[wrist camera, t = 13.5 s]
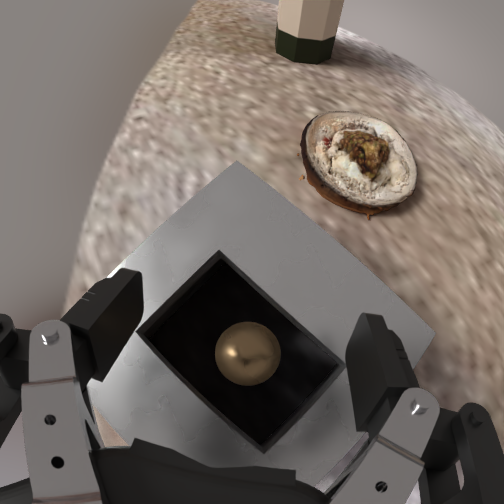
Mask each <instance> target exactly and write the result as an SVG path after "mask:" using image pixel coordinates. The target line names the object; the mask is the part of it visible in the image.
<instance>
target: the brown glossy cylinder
mask: <svg viewBox="0 0 504 504" xmlns="http://www.w3.org/2000/svg"><path fill="white" fill-rule="evenodd" d="M280 357H281V351H280V345H279V342H278V340H277V338H276V337H275V335H274V334H273V333H272V332H271V331H270V330H269V329H268V328H266V327H265V326H263V325H261V324H258V323H255V322H241V323H237V324H235V325H232V326H231V327H229V328H228V329H226V330H225V331H224V332H223V333H222V335H221V336H220V338H219V339H218V342H217V344H216V348H215V358H216V363H217V366H218V368H219V370H220V371H221V373H222V374H223V375H224V376H225V377H226V378H227V379H229V380H230V381H232V382H234V383H236V384H240V385H246V386H250V385H256V384H260V383H262V382H264V381H266V380H267V379H269V378H270V377H271V376H272V375H273V374H274V372H275V371H276V369H277V367H278V365H279V362H280Z"/></svg>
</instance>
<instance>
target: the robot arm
mask: <svg viewBox="0 0 504 504" xmlns="http://www.w3.org/2000/svg"><path fill="white" fill-rule="evenodd" d="M143 312H144V297H143V277H142V273H141V272H140V271H136V270H131V269H127V268H120V269H119V270H118V271H117V272H116V273H115V274H114V275H113V276H112V277H111V278H105V279H103V280H101V281H99V282H97V283H95V284H94V285H93V286H92V287H91V288H90V289H89V290H88V293H87V292H86V293H85V294H84V295H83V296H82V299H80V300H79V301H78V302H77V303H76V304H75V305H74V306H73V307H72V308H71V309H70V310H69V311H68V312H67V313H66V314H65V315H64V316H63V317H62V318H61V320H60V321H59V320H48V321H44V322H42V323H40V324H38V325H37V326H36V327H34V328H33V330H32V331H31V330H22V329H15V327H14V324H13V321H12V319H11V318H10V317H9V316H8V315H6V314H0V448H1V446H2V444H3V442H4V441H5V439H6V437H7V435H8V433H9V432H10V430H11V428H12V426H13V425H14V423H15V421H16V420H17V418H18V416H19V415H20V413H21V411H22V420H23V433H24V443H25V451H26V458H27V465H28V471H29V478H27V479H24V480H21V481H19V482H16V483H13V484H10V485H7V486H4V487H1V488H0V504H405V503H406V501H407V499H408V497H409V495H410V494H411V492H412V490H413V488H414V486H415V484H416V482H417V480H418V482H419V490H420V498H421V504H504V454H503V451H502V448H501V445H500V442H499V439H498V436H497V433H496V431H495V428H494V425H493V422H492V420H491V417H490V415H489V413H488V412H487V411H486V409H485V408H483V407H482V406H481V405H479V404H476V403H467V404H465V405H464V406H463V407H462V408H461V409H460V410H459V411H458V412H454V411H450V410H446V409H443V408H440V407H439V403H438V401H437V400H436V398H435V397H434V396H433V395H432V394H431V393H430V392H428V391H426V390H424V389H421V388H420V387H419V385H418V382H417V379H416V376H415V374H414V371H413V369H412V366H411V363H410V361H409V360H408V356H407V353H406V352H405V348H404V346H403V343H402V341H401V339H400V338H399V337H398V336H397V335H396V333H395V332H394V331H393V330H389V329H388V328H387V325H386V323H385V320H384V318H383V316H382V315H378V314H371V313H361V314H360V316H359V318H358V321H357V323H356V325H355V328H354V330H353V333H352V335H351V337H350V340H349V342H348V344H347V347H346V352H345V362H346V368H347V374H348V380H349V386H350V392H351V398H352V405H353V411H354V418H355V425H356V432H368V434H369V438H368V439H367V441H366V442H365V443H364V444H363V446H362V447H361V449H360V450H359V451H358V453H357V454H356V455H355V457H354V458H353V459H352V461H351V462H350V463H349V465H348V466H347V467H346V468H345V470H344V471H343V472H342V474H341V475H340V476H339V477H338V478H337V479H336V481H335V482H334V483H333V484H332V485H331V486H330V487H329V488H328V489H327V490H326V491H325V492H324V493H323V492H321V491H320V490H318V489H317V488H315V487H313V486H311V485H309V484H307V483H304V482H302V481H299V480H296V470H291V469H279V468H270V467H261V466H247V467H227V468H213V467H209V466H206V465H204V464H202V463H200V462H198V461H196V460H193V459H191V458H189V457H187V456H185V455H183V454H181V453H179V452H177V451H175V450H173V449H171V448H167V447H164V446H160V445H157V444H153V443H150V442H147V441H144V440H141V439H138V438H134V440H133V443H132V445H131V446H112V447H105V446H104V443H103V441H102V438H101V436H100V433H99V430H98V426H97V422H96V418H95V414H94V410H93V406H92V402H91V397H90V393H89V388H88V385H87V384H88V383H89V381H90V380H91V378H92V379H94V380H97V381H100V382H103V381H104V379H105V377H106V376H107V374H108V373H109V371H110V369H111V368H112V366H113V364H114V363H115V361H116V360H117V358H118V356H119V355H120V353H121V352H122V350H123V348H124V347H125V345H126V344H127V342H128V341H129V339H130V337H131V336H132V334H133V333H134V331H135V330H136V328H137V327H138V325H139V323H140V322H141V320H142V317H143ZM459 459H460V462H461V466H462V470H463V475H464V486H463V488H462V490H460V485H459V480H458V475H457V470H456V466H455V463H456V462H457V461H458V460H459Z"/></svg>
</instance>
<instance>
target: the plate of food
mask: <svg viewBox="0 0 504 504" xmlns="http://www.w3.org/2000/svg"><path fill="white" fill-rule="evenodd" d="M300 146H301V149H302V150H301V153H302V158H303V164H304V166H305V169H306V173H307V180H308V182H309V184H310V185H312V186H314V187H315V188H316V190H317V192H318V193H319V194H320V195H321V196H322V197H323V198H325V199H327V200H328V201H330V202H332V203H334V204H335V205H338V206H341V207H343V208H346V209H349V210H351V211H356V212H358V213H366V214H367V218H368V220H369V215H370V214H371V215H374V213H379V212H381V211H383V210H385V211H387V210H389V209H390V208H392V207H395V206H397V205H399V204H400V203H402V202H403V201H404V200H406V199H407V197H409V196H411V195H412V194H413V192H414V190H415V185H416V179H417V175H418V174H417V165H416V163H415V160H414V157H413V155H412V152H411V150H410V149H409V147H408V145H407V142H406V141H405V140H404V138H402V137H401V135H400V134H399V133H398V132H397V131H396V130H395V129H394V128H393V127H391V126H390V125H389V124H387V123H386V122H384V121H382V120H380V119H378V118H375V117H372V116H369V115H364V114H359V113H354V112H349V111H335V112H334V111H333V112H326V113H323V114H320V115H318V116H316V117H315V118H313V119H312V120H311V121H310V122H309V123H308V124H307V125H306V126H305V129H304V131H303V133H302V140H301V143H300ZM297 156H299V154H297ZM299 179H300V180H301V179H304V176H303V175H302V176H301V177H300V178H299ZM370 221H371V220H370Z"/></svg>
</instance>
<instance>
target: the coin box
mask: <svg viewBox="0 0 504 504" xmlns="http://www.w3.org/2000/svg"><path fill="white" fill-rule="evenodd" d="M225 263H227V264H228V265H229V266H230V267H231V268H232V269H234V270H235V271H236V272H237V273H238V274H239V275H240V276H241V277H242V278H243V279H244V280H245V281H247V282H248V283H249V284H250V285H251V286H252V287H253V288H254V289H255V290H256V291H257V292H259V293H260V294H261V295H262V296H263V297H264V298H265V299H266V300H267V301H268V302H270V303H271V304H272V305H273V306H274V307H275V308H276V309H277V310H278V311H279V312H281V313H282V314H283V315H284V316H285V317H286V318H287V319H288V320H289V321H291V322H292V323H293V324H294V325H295V326H296V327H297V328H298V329H300V330H301V331H302V332H303V333H304V334H305V335H306V336H307V337H309V338H310V339H311V340H312V341H313V342H314V343H315V344H316V345H318V346H319V347H320V348H321V349H322V350H323V351H324V352H325V353H327V354H328V355H329V356H330V357H331V358H332V359H333V360H335V361H336V362H337V364H336V365H335V366H334V368H333V369H332V370H331V371H330V372H329V374H328V375H327V376H326V377H325V378H324V379H323V380H322V382H321V383H320V384H319V385H318V386H317V387H316V388H315V389H314V391H313V392H312V393H311V394H310V395H309V396H308V397H307V398H306V399H305V400H304V402H303V403H302V404H301V405H300V406H299V407H298V408H297V409H296V410H295V411H294V412H293V413H292V414H291V415H290V416H289V417H288V418H287V419H286V420H285V421H284V422H283V423H282V424H281V425H280V426H279V427H278V428H277V429H276V430H275V431H274V432H273V433H272V434H271V435H270V436H269V437H268V438H267V439H266V440H265V441H264V442H263V443H262V444H261V445H259V444H258V443H257V442H255V441H254V440H253V439H252V438H250V437H249V436H248V435H247V434H246V433H244V432H243V431H242V430H241V429H240V428H238V427H237V426H236V425H235V424H234V423H233V422H231V421H230V420H229V419H228V418H227V417H226V416H225V415H223V414H222V413H221V412H220V411H219V410H218V409H217V408H216V407H215V406H213V405H212V404H211V403H210V402H209V401H208V400H207V399H206V398H205V397H204V396H203V395H202V394H201V393H199V392H198V391H197V390H196V389H195V388H194V387H193V386H192V385H191V384H190V383H189V382H188V381H187V380H186V379H185V378H184V377H183V376H182V375H181V374H180V373H179V372H178V371H177V370H176V369H175V368H174V367H173V366H172V365H171V364H170V363H169V362H168V360H167V359H166V358H165V357H164V356H163V355H162V354H161V353H160V352H159V351H158V350H157V349H156V348H155V347H154V345H153V344H152V343H151V342H150V341H149V340H148V339H149V338H150V337H151V336H152V335H153V334H154V333H155V332H156V331H157V330H158V329H159V328H160V327H161V326H162V325H163V324H164V323H165V322H166V321H167V320H168V319H169V318H170V317H171V316H172V315H173V314H174V313H175V312H176V311H177V310H178V309H179V308H180V307H181V306H182V305H183V304H184V303H185V302H186V301H187V300H188V299H189V298H190V297H191V296H192V295H193V294H194V293H195V292H196V291H197V290H198V289H199V288H200V287H201V286H202V285H203V284H204V283H206V282H207V281H208V280H209V279H210V278H211V277H212V276H213V275H214V274H215V273H216V272H217V271H218V270H219V269H220V268H221V267H222V266H223V265H224V264H225ZM120 268H127V269H131V270H136V271H140V272H141V273H142V277H143V297H144V312H143V317H142V320H141V322H140V323H139V325H138V327H137V328H136V330H135V331H134V333H133V334H132V336H131V337H130V339H129V341H128V342H127V344H126V345H125V347H124V348H123V350H122V352H121V353H120V355H119V356H118V358H117V360H116V361H115V363H114V364H113V366H112V368H111V369H110V371H109V373H108V374H107V376H106V377H105V379H104V381H103V382H100V381H97V380H94V379H92V378H91V380H90V381H89V383H88V384H87V385H88V388H89V393H90V397H91V402H92V404H93V406H94V407H95V408H96V409H97V410H98V412H99V413H100V414H101V415H102V416H103V417H104V419H105V420H106V421H107V422H108V423H109V424H110V425H111V427H112V428H113V429H114V430H115V431H116V432H117V433H118V434H119V435H120V436H121V437H122V438H123V440H124V441H125V442H126V443H127V444H128V445H129V446H131V445H132V443H133V440H134V438H138V439H141V440H144V441H147V442H150V443H153V444H157V445H160V446H164V447H167V448H171V449H173V450H175V451H177V452H179V453H181V454H183V455H185V456H187V457H189V458H191V459H193V460H196V461H198V462H200V463H202V464H204V465H206V466H209V467H213V468H227V467H247V466H261V467H270V468H279V469H291V470H296V480H299V481H302V482H304V483H307V484H309V485H311V486H313V487H314V486H315V485H316V484H317V483H318V482H319V481H320V480H321V479H322V478H323V477H324V476H325V475H326V474H327V473H328V472H329V471H330V470H331V469H332V468H333V467H334V466H335V465H336V464H337V463H338V462H339V461H340V460H341V459H342V458H343V457H344V456H345V455H346V454H347V453H348V452H349V451H350V450H351V449H352V447H353V446H354V445H355V444H356V443H357V442H358V441H359V440H360V439H361V437H362V436H363V435H364V434H365V433H366V432H356V425H355V418H354V411H353V405H352V398H351V392H350V386H349V380H348V374H347V368H346V362H345V352H346V347H347V344H348V342H349V340H350V337H351V335H352V333H353V330H354V328H355V325H356V323H357V321H358V318H359V316H360V314H361V313H371V314H378V315H382V316H383V318H384V320H385V323H386V325H387V328H388V329H389V330H393V331H394V332H395V333H396V335H397V336H398V337H399V338H400V339H401V341H402V343H403V346H404V348H405V352H406V353H407V356H408V360H409V361H410V363H411V366H412V369H414V368H415V366H416V365H417V363H418V362H419V360H420V359H421V357H422V355H423V354H424V352H425V351H426V349H427V347H428V346H429V344H430V342H431V341H432V339H433V337H434V336H435V334H436V333H435V332H434V331H433V330H432V329H431V328H430V327H429V326H428V325H427V324H426V323H425V322H424V321H423V320H422V319H421V318H420V317H419V316H418V315H417V314H416V313H415V312H414V311H413V310H412V309H411V308H410V307H409V306H408V305H407V304H406V303H405V302H404V301H403V300H402V299H400V298H399V297H398V296H397V295H396V294H395V293H394V292H393V291H392V290H391V289H390V288H389V287H388V286H387V285H386V284H384V283H383V282H382V281H381V280H380V279H379V278H378V277H377V276H376V275H375V274H374V273H372V272H371V271H370V270H369V269H368V268H367V267H366V266H365V265H364V264H362V263H361V262H360V261H359V260H358V259H357V258H356V257H355V256H353V255H352V254H351V253H350V252H349V251H348V250H347V249H345V248H344V247H343V246H342V245H341V244H340V243H339V242H337V241H336V240H335V239H334V238H333V237H332V236H330V235H329V234H328V233H327V232H326V231H325V230H323V229H322V228H321V227H320V226H319V225H317V224H316V223H315V222H314V221H313V220H311V219H310V218H309V217H308V216H307V215H305V214H304V213H303V212H302V211H301V210H299V209H298V208H297V207H296V206H294V205H293V204H292V203H291V202H290V201H288V200H287V199H286V198H285V197H283V196H282V195H281V194H280V193H278V192H277V191H276V190H275V189H273V188H272V187H271V186H270V185H268V184H267V183H266V182H264V181H263V180H262V179H261V178H259V177H258V176H257V175H255V174H254V173H253V172H252V171H250V170H249V169H248V168H246V167H245V166H244V165H242V164H241V163H240V162H238V161H236V162H234V163H233V164H232V165H231V166H229V167H228V168H227V169H226V170H224V171H223V172H222V173H221V174H220V175H218V176H217V177H216V178H215V179H214V180H212V181H211V182H210V183H209V184H208V185H206V186H205V187H204V188H203V189H202V190H201V191H199V192H198V193H197V194H196V195H195V196H194V197H192V198H191V199H190V200H189V201H188V202H187V203H185V204H184V205H183V206H182V207H181V208H180V209H179V210H177V211H176V212H175V213H174V214H173V215H172V216H171V217H170V218H169V219H167V220H166V221H165V222H164V223H163V224H162V225H161V226H160V227H159V228H158V229H156V230H155V231H154V232H153V233H152V234H151V235H150V236H149V237H148V238H147V239H146V240H145V241H144V242H142V243H141V244H140V245H139V246H138V247H137V248H136V249H135V250H134V251H133V252H132V253H131V254H130V255H129V256H128V257H127V258H126V259H125V260H124V261H123V262H122V263H121V264H120V265H119V266H118V267H117V268H116V269H115V270H114V271H113V272H112V273H111V274H110V275H109V276H108V277H107V278H111V277H112V276H113V275H114V274H115V273H116V272H117V271H118V270H119V269H120Z"/></svg>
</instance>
